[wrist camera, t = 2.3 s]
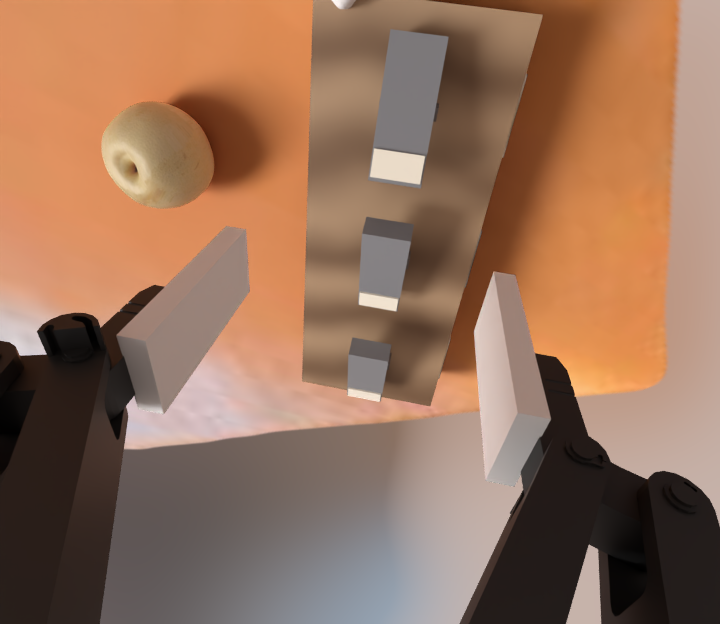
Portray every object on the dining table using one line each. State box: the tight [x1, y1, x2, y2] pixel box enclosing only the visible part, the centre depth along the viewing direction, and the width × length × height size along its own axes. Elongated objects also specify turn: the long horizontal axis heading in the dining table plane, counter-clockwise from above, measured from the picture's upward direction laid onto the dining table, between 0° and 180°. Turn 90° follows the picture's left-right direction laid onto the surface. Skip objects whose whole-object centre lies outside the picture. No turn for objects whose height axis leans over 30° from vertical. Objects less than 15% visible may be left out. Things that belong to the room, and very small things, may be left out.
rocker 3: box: [347, 337, 391, 402], centre depth 38 cm, size 8×3×2 cm, turn 173°
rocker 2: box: [358, 217, 414, 311], centre depth 32 cm, size 8×3×2 cm, turn 173°
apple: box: [102, 102, 214, 209], centre depth 34 cm, size 8×8×8 cm
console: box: [302, 0, 543, 406], centre depth 35 cm, size 32×13×6 cm, turn 174°
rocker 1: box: [368, 29, 449, 189], centre depth 25 cm, size 8×3×2 cm, turn 174°
